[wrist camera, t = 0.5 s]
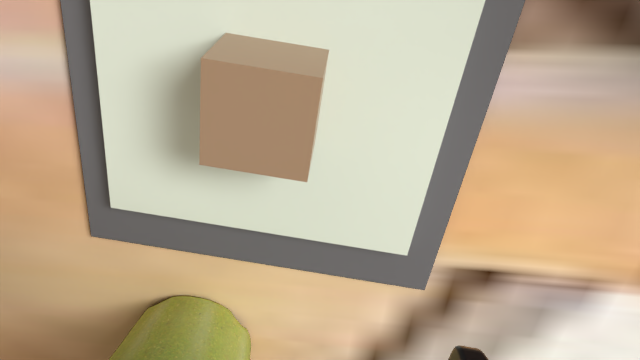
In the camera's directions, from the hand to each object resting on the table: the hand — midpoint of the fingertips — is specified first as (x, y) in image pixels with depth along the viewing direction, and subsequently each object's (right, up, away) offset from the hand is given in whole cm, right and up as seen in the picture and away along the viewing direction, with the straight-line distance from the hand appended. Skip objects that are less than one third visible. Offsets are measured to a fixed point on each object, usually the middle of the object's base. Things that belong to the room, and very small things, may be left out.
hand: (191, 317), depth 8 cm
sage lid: (+1, +6, +10) cm, 12 cm away
